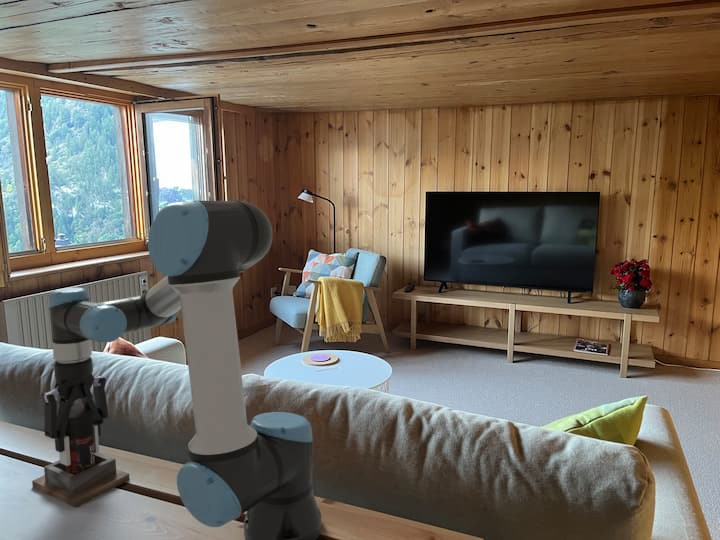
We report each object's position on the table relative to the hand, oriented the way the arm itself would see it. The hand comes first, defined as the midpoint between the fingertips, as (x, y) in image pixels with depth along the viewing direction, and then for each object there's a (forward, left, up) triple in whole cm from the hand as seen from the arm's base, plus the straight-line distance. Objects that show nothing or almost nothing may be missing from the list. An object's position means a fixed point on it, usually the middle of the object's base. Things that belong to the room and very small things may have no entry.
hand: (80, 457), depth 123 cm
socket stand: (0, 0, -6) cm, 6 cm away
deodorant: (0, 0, -5) cm, 5 cm away
